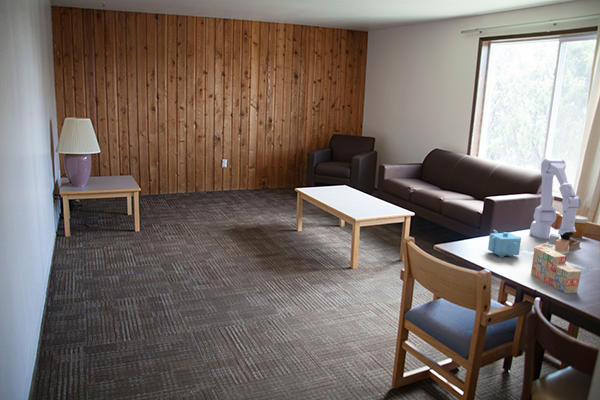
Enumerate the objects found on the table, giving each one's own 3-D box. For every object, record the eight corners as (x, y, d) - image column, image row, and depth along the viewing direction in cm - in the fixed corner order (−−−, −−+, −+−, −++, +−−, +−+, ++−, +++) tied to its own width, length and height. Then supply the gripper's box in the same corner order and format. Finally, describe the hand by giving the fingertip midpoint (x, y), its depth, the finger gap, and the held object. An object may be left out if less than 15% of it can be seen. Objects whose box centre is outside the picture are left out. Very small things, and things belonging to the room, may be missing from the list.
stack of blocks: (577, 293, 190) (582, 264, 187) (563, 293, 189) (568, 264, 186) (543, 272, 210) (547, 246, 208) (530, 273, 210) (534, 246, 207)
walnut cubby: (554, 247, 243) (555, 241, 243) (564, 243, 250) (565, 237, 249) (569, 251, 238) (570, 244, 237) (579, 247, 244) (580, 241, 244)
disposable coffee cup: (583, 237, 267) (587, 216, 264) (585, 241, 258) (589, 220, 256) (564, 234, 271) (568, 214, 268) (565, 238, 262) (569, 217, 259)
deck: (533, 248, 243) (533, 246, 243) (551, 242, 255) (552, 240, 255) (562, 256, 232) (562, 254, 232) (579, 249, 244) (580, 247, 244)
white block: (548, 242, 250) (549, 235, 249) (550, 241, 253) (551, 233, 252) (557, 244, 248) (558, 237, 247) (558, 242, 251) (559, 235, 250)
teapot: (499, 261, 223) (502, 238, 220) (477, 249, 240) (480, 227, 237) (528, 260, 226) (532, 237, 223) (505, 247, 243) (508, 226, 241)
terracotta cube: (554, 249, 240) (555, 240, 239) (559, 246, 243) (560, 238, 241) (564, 251, 237) (565, 243, 235) (568, 249, 239) (569, 240, 238)
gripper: (570, 224, 230) (566, 250, 233) (583, 219, 239) (578, 245, 242) (555, 220, 236) (551, 246, 239) (568, 216, 245) (564, 242, 248)
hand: (564, 246), depth 241 cm, fingers closed, pressing on terracotta cube
